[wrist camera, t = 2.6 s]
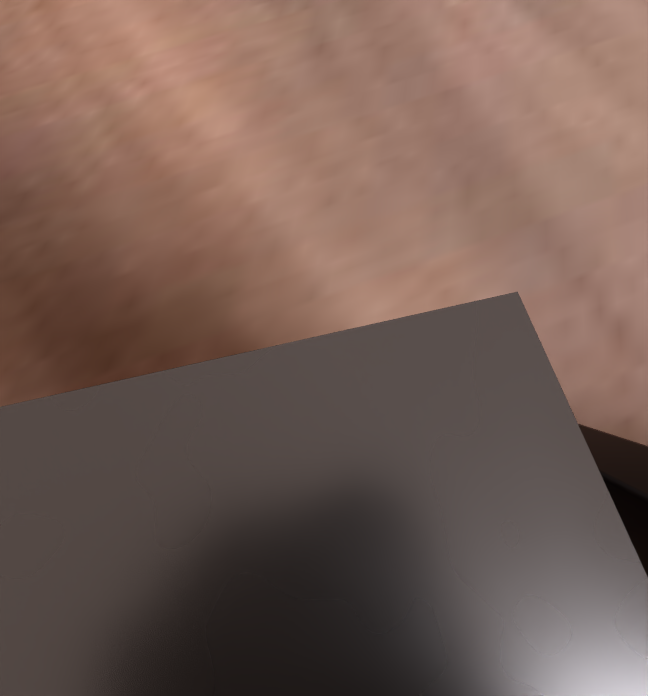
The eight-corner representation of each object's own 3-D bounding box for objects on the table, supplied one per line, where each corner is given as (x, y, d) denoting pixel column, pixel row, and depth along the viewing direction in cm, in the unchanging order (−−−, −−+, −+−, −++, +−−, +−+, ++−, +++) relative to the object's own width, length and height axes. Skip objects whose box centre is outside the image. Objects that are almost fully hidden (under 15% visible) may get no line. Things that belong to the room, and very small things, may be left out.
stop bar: (395, 568, 14) (724, 745, 3) (228, 619, 13) (-72, 1074, 2) (361, 450, 15) (517, 291, 4) (207, 490, 15) (-55, 419, 4)
